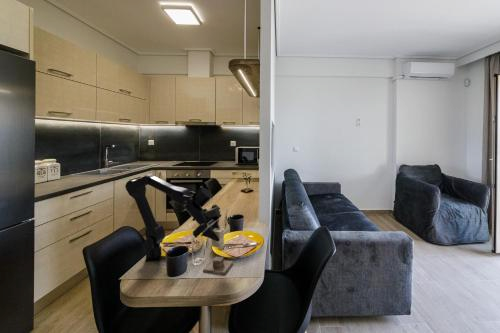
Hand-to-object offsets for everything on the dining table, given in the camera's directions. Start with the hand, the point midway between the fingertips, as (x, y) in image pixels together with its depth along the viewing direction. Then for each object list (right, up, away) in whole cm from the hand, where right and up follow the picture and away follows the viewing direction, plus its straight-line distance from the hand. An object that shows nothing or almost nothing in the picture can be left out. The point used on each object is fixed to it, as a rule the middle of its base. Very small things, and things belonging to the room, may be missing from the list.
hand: (220, 238), depth 118 cm
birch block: (-1, -3, +1) cm, 3 cm away
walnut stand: (-1, -13, +2) cm, 14 cm away
